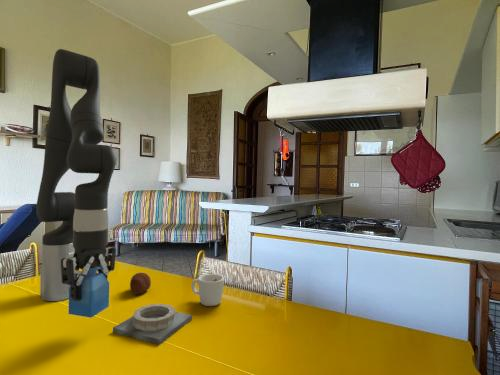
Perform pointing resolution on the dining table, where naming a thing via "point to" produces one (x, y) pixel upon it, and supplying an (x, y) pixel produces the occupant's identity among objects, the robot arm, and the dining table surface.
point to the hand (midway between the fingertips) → (89, 294)
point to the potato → (140, 283)
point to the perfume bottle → (91, 294)
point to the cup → (209, 289)
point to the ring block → (153, 323)
